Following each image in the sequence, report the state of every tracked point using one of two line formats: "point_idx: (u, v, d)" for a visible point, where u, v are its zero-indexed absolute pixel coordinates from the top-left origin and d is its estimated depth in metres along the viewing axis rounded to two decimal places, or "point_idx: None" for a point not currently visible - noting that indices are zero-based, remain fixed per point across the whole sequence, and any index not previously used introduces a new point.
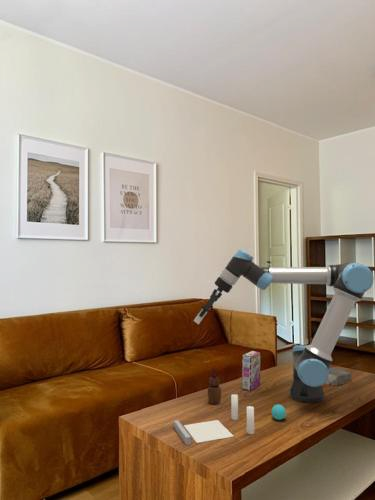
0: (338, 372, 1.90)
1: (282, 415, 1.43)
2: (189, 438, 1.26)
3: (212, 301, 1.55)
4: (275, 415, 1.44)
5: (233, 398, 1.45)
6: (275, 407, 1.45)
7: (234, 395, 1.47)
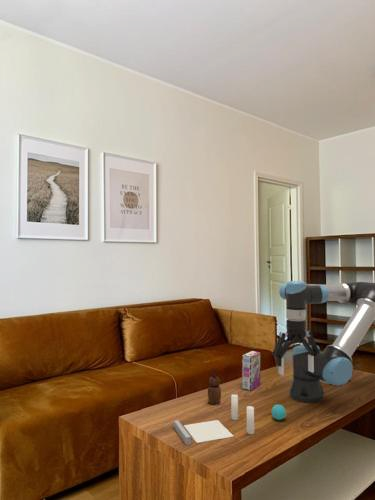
0: None
1: (282, 415, 1.43)
2: (189, 438, 1.26)
3: None
4: (275, 415, 1.44)
5: (233, 398, 1.45)
6: (275, 407, 1.45)
7: (234, 395, 1.47)
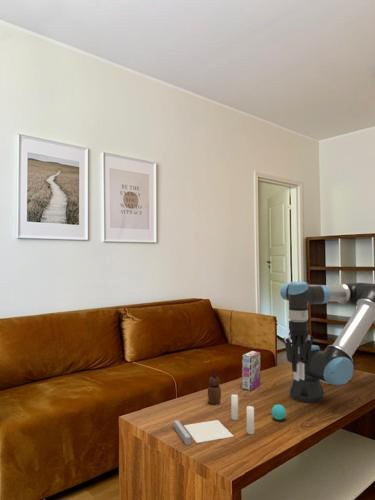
0: None
1: (282, 415, 1.43)
2: (189, 438, 1.26)
3: None
4: (275, 415, 1.44)
5: (233, 398, 1.45)
6: (275, 407, 1.45)
7: (234, 395, 1.47)
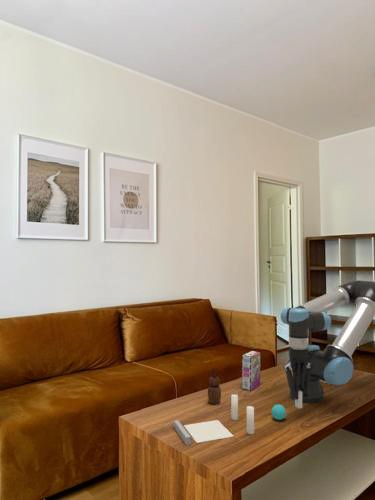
0: None
1: (282, 415, 1.43)
2: (189, 438, 1.26)
3: None
4: (275, 415, 1.44)
5: (233, 398, 1.45)
6: (275, 407, 1.45)
7: (234, 395, 1.47)
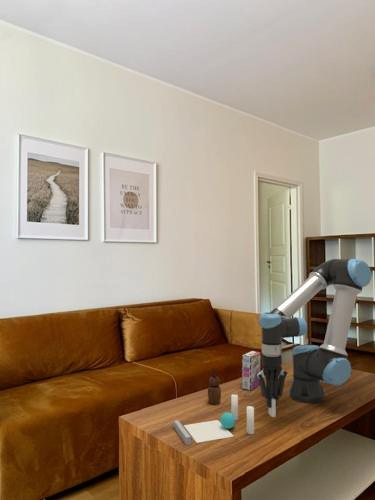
0: None
1: (231, 423, 1.36)
2: (189, 438, 1.26)
3: None
4: None
5: (233, 398, 1.45)
6: (223, 426, 1.37)
7: (234, 395, 1.47)
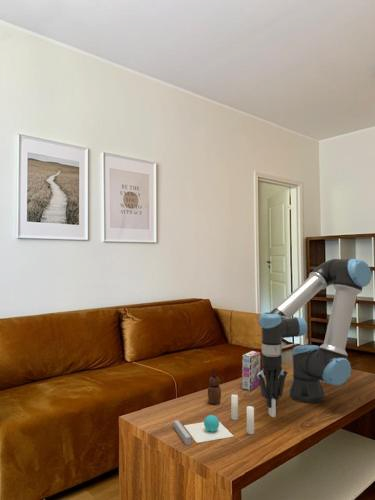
0: None
1: (214, 425, 1.33)
2: (189, 438, 1.26)
3: None
4: (216, 418, 1.35)
5: (233, 398, 1.45)
6: None
7: (234, 395, 1.47)
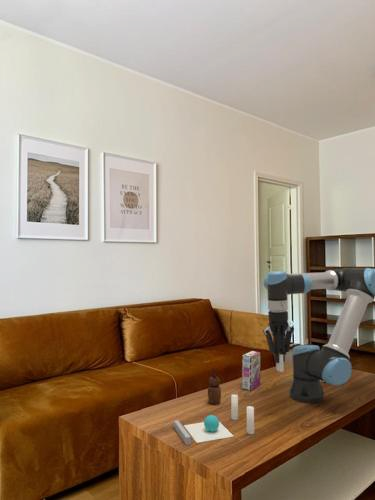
0: None
1: (214, 425, 1.33)
2: (189, 438, 1.26)
3: None
4: (216, 418, 1.35)
5: (233, 398, 1.45)
6: None
7: (234, 395, 1.47)
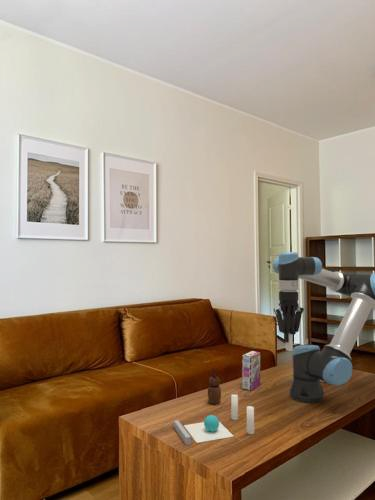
0: None
1: (214, 425, 1.33)
2: (189, 438, 1.26)
3: None
4: (216, 418, 1.35)
5: (233, 398, 1.45)
6: None
7: (234, 395, 1.47)
